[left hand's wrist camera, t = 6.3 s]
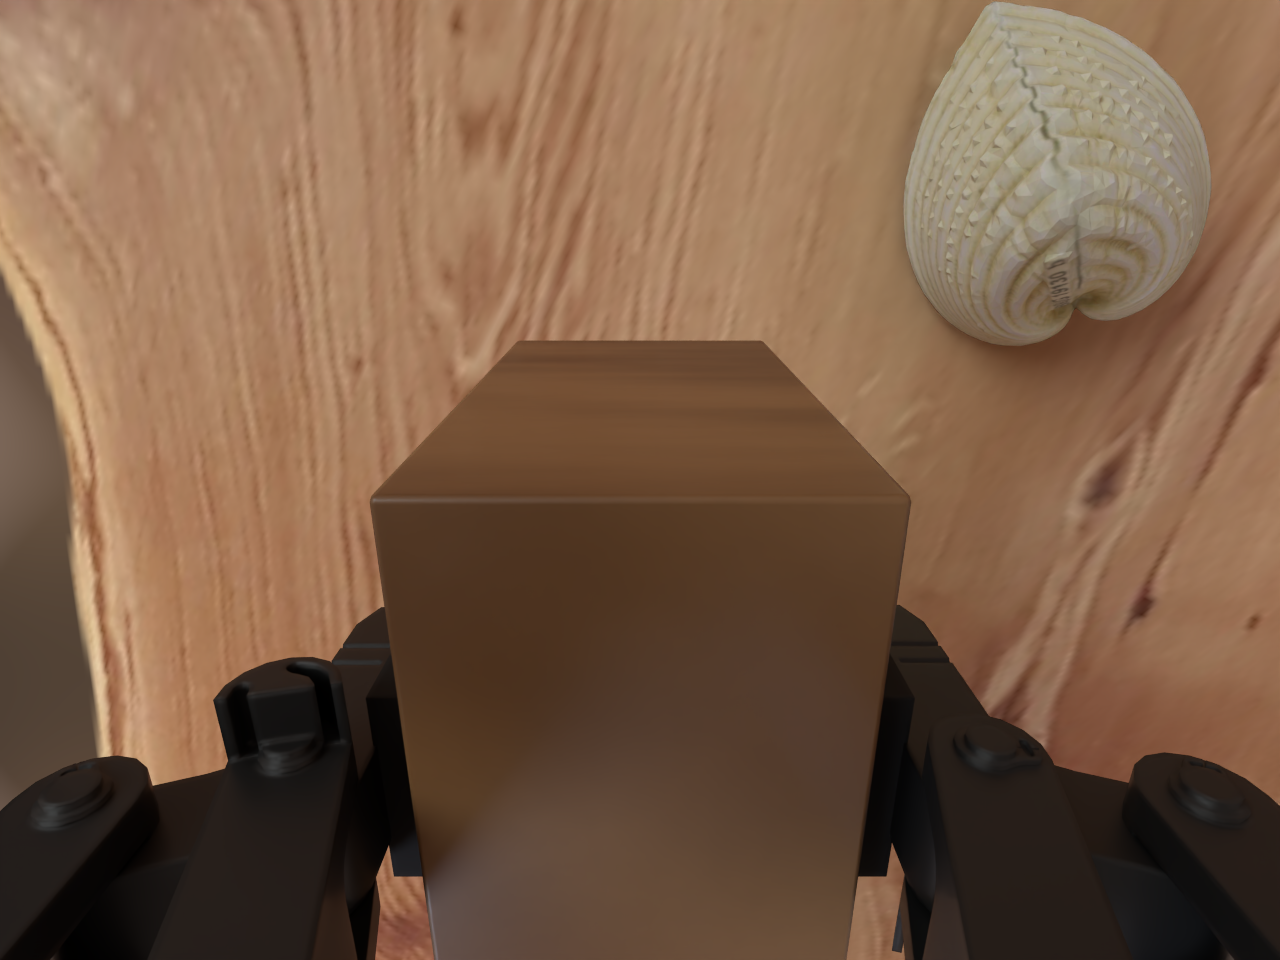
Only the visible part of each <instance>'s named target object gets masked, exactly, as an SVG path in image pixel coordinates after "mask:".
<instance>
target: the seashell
mask: <svg viewBox="0 0 1280 960" xmlns="http://www.w3.org/2000/svg"><path fill="white" fill-rule="evenodd" d="M1210 194H1211V172H1210V164H1209V157H1208V151H1207V146H1206V141H1205V136H1204V133H1203V130H1202V128H1201V125H1200V122H1199V120H1198V118H1197V116H1196V114H1195V112H1194V110H1193V108H1192V106H1191V105H1190V103H1189V101H1188V99H1187V98H1186V96H1185V94H1184V93H1183V91H1182V90H1181V88H1180V87H1179V86H1178V84H1177V83H1176V81H1175V80H1174V79H1173V78H1172V77H1171V76H1170V75H1169V74H1168V73H1167V72H1166V71H1165V70H1164V69H1163V68H1162V67H1161V66H1160V65H1159V64H1158V63H1157V62H1156V61H1155V60H1154V59H1153V58H1151V57H1150V56H1149V55H1148V54H1147V53H1146V52H1144V51H1143V50H1142V49H1140V48H1139V47H1137V46H1136V45H1134V44H1133V43H1131V42H1130V41H1129V40H1127V39H1126V38H1124V37H1123V36H1121V35H1119V34H1117V33H1115V32H1113V31H1111V30H1109V29H1107V28H1105V27H1103V26H1100V25H1098V24H1095V23H1093V22H1091V21H1088V20H1086V19H1084V18H1082V17H1077V16H1072V15H1069V14H1066V13H1064V12H1061V11H1058V10H1053V9H1048V8H1040V7H1033V6H1021V5H1017V4H1012V3H1005V2H992V3H990V4H989V5H987V6H986V7H985V9H984V10H983V12H982V13H981V15H980V16H979V18H978V20H977V21H976V23H975V25H974V26H973V28H972V30H971V32H970V33H969V35H968V37H967V38H966V40H965V42H964V43H963V44H962V46H961V47H960V48H959V49H958V51H957V52H956V55H955V58H954V60H953V63H952V66H951V68H950V69H949V71H948V72H947V74H946V75H945V77H944V78H943V80H942V82H941V84H940V86H939V87H938V89H937V90H936V92H935V94H934V96H933V98H932V100H931V103H930V105H929V107H928V109H927V111H926V113H925V116H924V118H923V121H922V123H921V126H920V129H919V132H918V135H917V139H916V144H915V148H914V150H913V153H912V155H911V160H910V165H909V169H908V173H907V177H906V181H905V192H904V229H905V239H906V248H907V252H908V255H909V259H910V262H911V265H912V268H913V271H914V274H915V276H916V278H917V281H918V283H919V285H920V287H921V289H922V291H923V292H924V294H925V295H926V297H927V298H928V300H929V301H930V302H931V303H932V305H933V306H934V307H935V309H936V310H937V311H938V312H939V313H940V314H941V315H942V316H943V317H944V318H945V319H946V320H947V321H948V322H950V323H951V324H952V325H954V326H955V327H956V328H957V329H959V330H961V331H962V332H964V333H966V334H968V335H970V336H972V337H974V338H977V339H979V340H981V341H985V342H988V343H991V344H996V345H1006V346H1023V345H1028V344H1033V343H1038V342H1041V341H1043V340H1046V339H1048V338H1050V337H1052V336H1054V335H1055V334H1057V333H1058V332H1059V331H1060V330H1062V329H1063V328H1064V327H1065V326H1066V324H1067V323H1068V322H1069V320H1070V318H1071V315H1072V313H1073V311H1074V309H1075V308H1077V309H1078V310H1080V311H1081V312H1082V314H1084V315H1086V316H1087V317H1089V318H1091V319H1095V320H1102V321H1107V320H1118V319H1121V318H1124V317H1127V316H1130V315H1132V314H1134V313H1136V312H1138V311H1141V310H1143V309H1144V308H1146V307H1147V306H1149V305H1150V304H1151V303H1153V302H1154V301H1156V300H1157V299H1159V298H1160V297H1161V296H1162V295H1163V294H1164V293H1165V292H1166V291H1167V290H1168V289H1169V288H1170V287H1171V286H1172V285H1173V284H1174V283H1175V282H1176V281H1177V280H1178V278H1179V277H1180V276H1181V274H1182V273H1183V271H1184V270H1185V268H1186V267H1187V265H1188V263H1189V262H1190V260H1191V258H1192V256H1193V255H1194V253H1195V251H1196V249H1197V247H1198V244H1199V242H1200V239H1201V236H1202V233H1203V230H1204V226H1205V222H1206V218H1207V213H1208V207H1209V201H1210Z"/></svg>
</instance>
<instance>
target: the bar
mask: <svg viewBox="0 0 1280 960" xmlns="http://www.w3.org/2000/svg"><path fill="white" fill-rule="evenodd" d="M910 506H911V500H910V496H909V495H908V494H907V493H906V492H905V491H904V490H903V489H902V488H901V487H900V486H899V485H898V483H897V482H896V481H895V480H894V479H893V478H892V477H891V476H890V475H889V474H888V473H887V472H886V471H885V470H884V469H883V468H882V467H881V466H880V464H879V463H878V462H877V461H876V460H875V459H874V458H873V457H872V456H871V455H870V454H869V453H868V452H867V451H866V450H865V449H864V448H863V447H862V446H861V444H860V443H859V442H858V441H857V440H856V439H855V438H854V437H853V436H852V435H851V434H850V433H849V432H848V431H847V430H846V429H845V428H844V427H843V426H842V424H841V423H840V422H839V421H838V420H837V419H836V418H835V417H834V416H833V415H832V414H831V413H830V412H829V411H828V410H827V409H826V408H825V407H824V405H823V404H822V403H821V402H820V401H819V400H818V399H817V398H816V397H815V396H814V395H813V394H812V393H811V392H810V391H809V390H808V389H807V388H806V387H805V385H804V384H803V383H802V382H801V381H800V380H799V379H798V378H797V377H796V376H795V375H794V374H793V373H792V372H791V371H790V370H789V369H788V368H787V367H786V365H785V364H784V363H783V362H782V361H781V360H780V359H779V358H778V357H777V356H776V355H775V354H774V353H773V352H772V351H771V350H770V349H769V348H768V346H767V345H766V344H765V343H764V342H762V341H518V342H517V343H516V344H515V345H514V346H513V347H512V348H511V349H510V350H509V351H508V352H507V353H506V354H505V355H504V356H503V357H502V359H501V360H500V361H499V362H498V363H497V364H496V365H495V366H494V367H493V368H492V369H491V370H490V371H489V372H488V373H487V374H486V375H485V377H484V378H483V379H482V380H481V381H480V382H479V383H478V384H477V385H476V386H475V387H474V388H473V389H472V390H471V391H470V392H469V393H468V395H467V396H466V397H465V398H464V399H463V400H462V401H461V402H460V403H459V404H458V405H457V406H456V407H455V408H454V409H453V410H452V411H451V412H450V414H449V415H448V416H447V417H446V418H445V419H444V420H443V421H442V422H441V423H440V424H439V425H438V426H437V427H436V428H435V429H434V430H433V432H432V433H431V434H430V435H429V436H428V437H427V438H426V439H425V440H424V441H423V442H422V443H421V444H420V445H419V446H418V447H417V448H416V449H415V451H414V452H413V453H412V454H411V455H410V456H409V457H408V458H407V459H406V460H405V461H404V462H403V463H402V464H401V465H400V466H399V467H398V469H397V470H396V471H395V472H394V473H393V474H392V475H391V476H390V477H389V478H388V479H387V480H386V481H385V482H384V483H383V484H382V485H381V486H380V488H379V489H378V490H377V491H376V492H375V493H374V494H373V495H372V496H371V499H370V507H371V514H372V521H373V528H374V535H375V542H376V549H377V556H378V564H379V571H380V578H381V585H382V592H383V599H384V606H385V613H386V620H387V627H388V634H389V642H390V649H391V656H392V663H393V670H394V677H395V684H396V691H397V698H398V705H399V712H400V719H401V727H402V734H403V741H404V748H405V755H406V762H407V769H408V776H409V783H410V790H411V797H412V805H413V812H414V819H415V826H416V833H417V840H418V847H419V854H420V861H421V868H422V875H423V882H424V890H425V897H426V904H427V911H428V918H429V925H430V932H431V939H432V946H433V953H434V960H846V958H847V951H848V944H849V937H850V930H851V923H852V916H853V908H854V901H855V894H856V887H857V880H858V873H859V866H860V859H861V852H862V845H863V838H864V831H865V824H866V817H867V810H868V803H869V796H870V789H871V781H872V774H873V767H874V760H875V753H876V746H877V739H878V732H879V725H880V718H881V711H882V704H883V697H884V690H885V683H886V676H887V669H888V662H889V654H890V647H891V640H892V633H893V626H894V619H895V612H896V605H897V598H898V591H899V584H900V577H901V570H902V563H903V556H904V549H905V542H906V535H907V527H908V520H909V513H910Z"/></svg>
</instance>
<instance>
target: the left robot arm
mask: <svg viewBox="0 0 1280 960" xmlns="http://www.w3.org/2000/svg"><path fill="white" fill-rule="evenodd" d="M213 701H214V705H215V709H216V713H217V717H218V721H219V725H220V729H221V733H222V737H223V741H224V745H225V749H226V753H227V757H228V763H227V765H226V768H225V769H222V770H219V771H215V772H212V773H208V774H204V775H200V776H195V777H191V778H186V779H182V780H177V781H173V782H168V783H164V784H159V785H155V786H152V782H151V779H150V775H149V772H148V769H147V767H146V766H145V765H143V764H142V763H141V762H140V761H139V760H137V759H135V758H129V757H123V756H110V757H102V758H94V759H90V760H86V761H83V762H80V763H77V764H73V765H70V766H67V767H65V768H62V769H60V770H59V771H57V772H55V773H53V774H51V775H49V776H47V777H45V778H43V779H41V780H39V781H37V782H35V783H34V784H33V785H31V786H30V787H29V788H27V789H26V790H25V791H23V792H22V793H21V794H19V795H18V796H17V797H15V798H14V799H13V800H12V801H11V802H9V803H8V804H7V805H6V806H5V807H4V808H3V809H2V810H1V811H0V960H375V954H376V944H377V934H378V925H379V915H380V900H379V893H378V887H377V881H376V876H377V873H378V871H379V868H380V866H381V863H382V861H383V858H384V856H385V853H386V851H387V848H388V846H389V848H390V854H391V860H392V867H393V873H394V876H423V875H422V868H421V861H420V854H419V847H418V840H417V833H416V826H415V819H414V812H413V805H412V797H411V790H410V783H409V776H408V769H407V762H406V755H405V748H404V741H403V734H402V727H401V719H400V712H399V705H398V698H397V691H396V684H395V677H394V670H393V663H392V656H391V649H390V642H389V634H388V627H387V620H386V613H385V607H381V608H380V609H378V610H377V611H375V612H374V613H372V614H371V615H370V616H368V617H367V618H365V619H364V620H362V621H361V622H360V623H358V624H357V625H356V626H355V628H354V629H353V631H352V632H351V634H350V635H349V637H348V638H347V639H346V641H345V642H344V644H343V648H340V650H339V651H338V653H337V654H336V655H335V657H334V658H333V660H332V663H331V662H330V661H326V660H322V659H318V658H314V657H296V658H287V659H282V660H278V661H274V662H269V663H266V664H263V665H261V666H258V667H256V668H254V669H251V670H249V671H247V672H244V673H243V674H241V675H240V676H238V677H237V678H235V679H234V680H232V681H231V682H229V683H228V684H226V685H225V686H224V687H223V689H222V690H221V691H220V692H219V694H218V695H217V696H216V697H215V698H214V700H213ZM892 843H893V846H894V848H895V851H896V853H897V856H898V858H899V861H900V863H901V866H902V868H903V871H904V873H905V875H904V881H903V887H902V892H901V898H900V904H899V910H898V916H897V922H896V927H895V933H894V940H893V947H892V951H896V952H900V953H902V947H903V942H904V952H905V960H1280V806H1279V805H1278V804H1277V803H1276V802H1275V801H1274V800H1273V799H1272V798H1270V797H1269V796H1268V795H1267V794H1265V793H1264V792H1263V791H1261V790H1260V789H1259V788H1257V787H1256V786H1255V785H1253V784H1252V783H1251V782H1249V781H1248V780H1247V779H1245V778H1243V777H1241V776H1239V775H1237V774H1235V773H1233V772H1231V771H1229V770H1227V769H1225V768H1223V767H1222V766H1220V765H1217V764H1214V763H1212V762H1209V761H1205V760H1202V759H1199V758H1195V757H1192V756H1188V755H1180V754H1172V753H1158V754H1152V755H1146V756H1144V757H1143V758H1142V759H1141V760H1139V761H1138V762H1137V763H1136V764H1135V765H1134V768H1133V771H1132V774H1131V778H1130V781H1129V783H1126V782H1122V781H1117V780H1113V779H1108V778H1104V777H1099V776H1094V775H1090V774H1085V773H1081V772H1076V771H1072V770H1069V769H1066V768H1062V767H1059V766H1055V765H1054V764H1053V761H1052V759H1051V758H1050V756H1049V755H1048V754H1047V752H1046V751H1045V749H1044V748H1043V746H1042V745H1041V744H1040V743H1039V742H1038V741H1036V740H1035V739H1034V738H1033V737H1031V736H1030V735H1029V734H1027V733H1026V732H1025V731H1024V730H1022V729H1020V728H1018V727H1016V726H1013V725H1011V724H1009V723H1007V722H1005V721H1003V720H1001V719H997V718H993V717H989V715H988V714H987V712H986V711H985V710H984V708H983V707H982V705H981V704H980V702H979V701H978V699H977V698H976V697H975V695H974V694H973V692H972V691H971V689H970V688H969V686H968V685H967V684H966V682H965V681H964V679H963V678H962V676H961V675H960V673H959V672H958V671H957V669H956V668H955V666H954V665H953V663H950V662H949V657H948V656H947V655H946V653H945V652H944V650H943V649H942V647H941V646H938V642H937V640H936V639H935V637H934V636H933V634H932V633H931V631H930V630H929V629H928V627H927V626H926V624H925V623H924V622H923V621H922V620H920V619H919V618H917V617H916V616H915V615H913V614H912V613H910V612H909V611H907V610H906V609H904V608H903V607H902V606H900V605H896V612H895V619H894V626H893V633H892V640H891V647H890V654H889V662H888V669H887V676H886V683H885V690H884V697H883V704H882V711H881V718H880V725H879V732H878V739H877V746H876V753H875V760H874V767H873V774H872V781H871V789H870V796H869V803H868V810H867V817H866V824H865V831H864V838H863V845H862V852H861V859H860V866H859V873H858V876H887V870H888V863H889V857H890V851H891V845H892Z"/></svg>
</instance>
